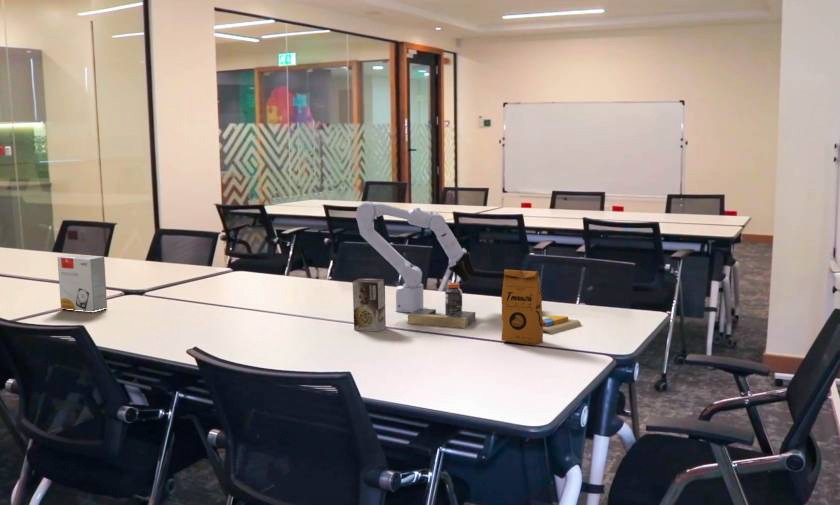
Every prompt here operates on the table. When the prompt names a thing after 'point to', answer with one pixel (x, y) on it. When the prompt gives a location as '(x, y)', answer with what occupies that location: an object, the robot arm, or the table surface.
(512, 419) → the table surface
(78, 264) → the hard drive box
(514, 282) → the coffee package
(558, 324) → the wooden puzzle
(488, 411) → the table surface
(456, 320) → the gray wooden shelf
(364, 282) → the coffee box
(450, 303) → the pill bottle
